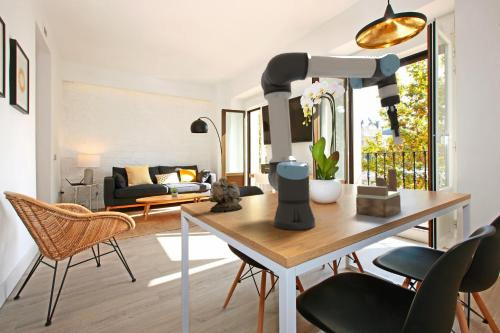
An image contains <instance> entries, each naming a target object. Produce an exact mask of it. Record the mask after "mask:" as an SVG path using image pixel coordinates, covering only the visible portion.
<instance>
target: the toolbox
mask: <svg viewBox="0 0 500 333" xmlns="http://www.w3.org/2000/svg"><path fill="white" fill-rule="evenodd" d="M355 202H356V203H355V207H356V209H355V211H356V214H357V215H361V216H362V215H363V216H371V217H379V218H389V217H391V216H392V215H395V214H397V213H400V212H401V211H402V208H401V203H402V202H401V194H400V195H397V196H394V197H391V198H388V199H386V200H385V199H372V198H360V197H355Z"/></svg>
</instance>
